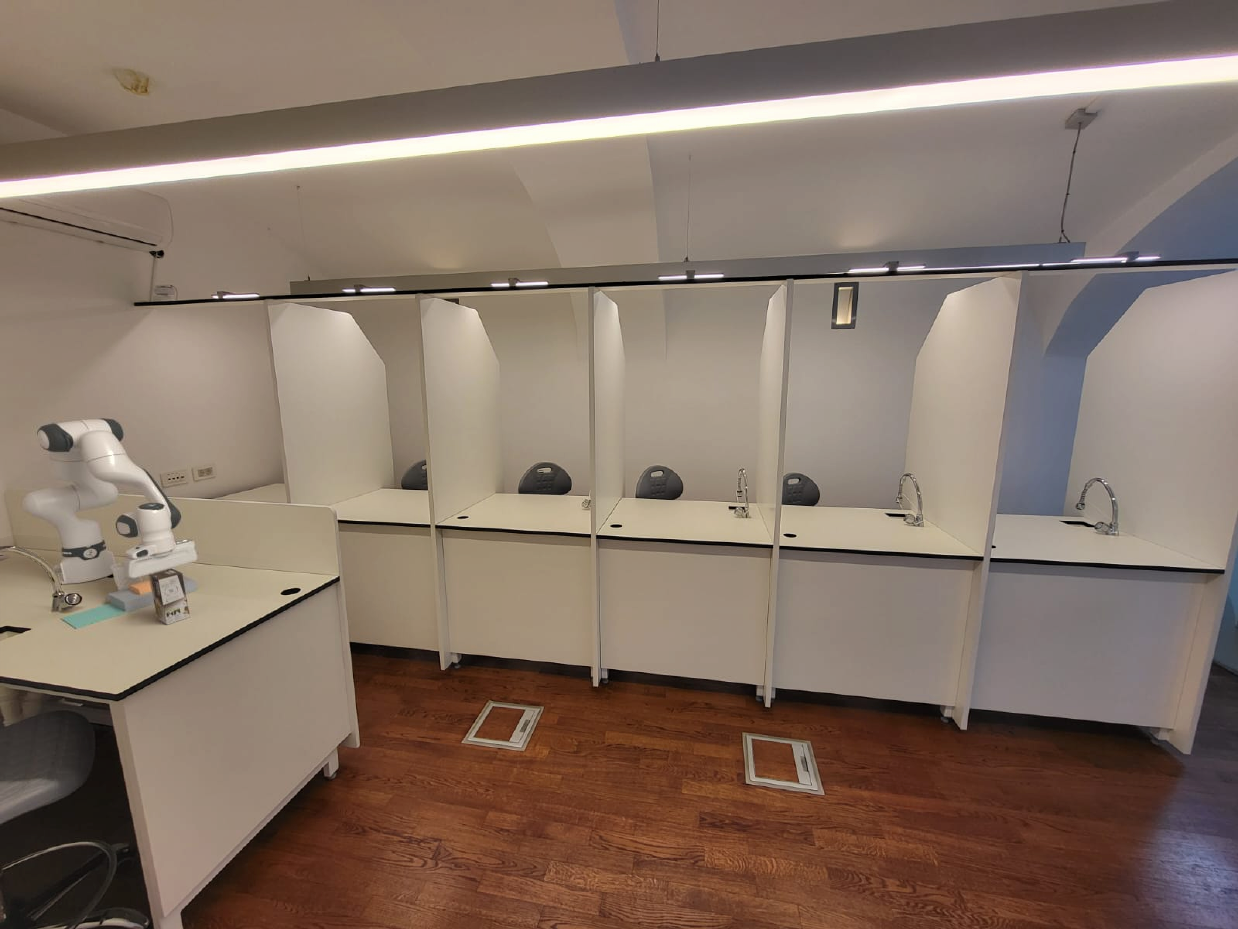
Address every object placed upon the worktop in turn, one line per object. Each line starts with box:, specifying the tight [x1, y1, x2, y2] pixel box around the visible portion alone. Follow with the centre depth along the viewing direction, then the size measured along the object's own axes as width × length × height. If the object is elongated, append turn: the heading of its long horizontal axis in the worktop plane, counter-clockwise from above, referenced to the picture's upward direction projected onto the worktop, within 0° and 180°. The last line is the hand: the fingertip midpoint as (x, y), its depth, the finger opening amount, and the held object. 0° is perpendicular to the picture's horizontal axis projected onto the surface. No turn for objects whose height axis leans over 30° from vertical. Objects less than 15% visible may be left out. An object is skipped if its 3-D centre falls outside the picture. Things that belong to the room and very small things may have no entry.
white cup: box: [111, 561, 143, 591], centre depth 184 cm, size 8×8×10 cm
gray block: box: [107, 575, 198, 614], centre depth 177 cm, size 14×20×4 cm
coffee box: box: [148, 568, 191, 625], centre depth 160 cm, size 9×6×16 cm
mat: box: [60, 603, 126, 629], centre depth 163 cm, size 14×12×1 cm
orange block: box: [129, 578, 152, 595], centre depth 175 cm, size 9×6×2 cm, turn 63°
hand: (165, 580), depth 180 cm, fingers closed
